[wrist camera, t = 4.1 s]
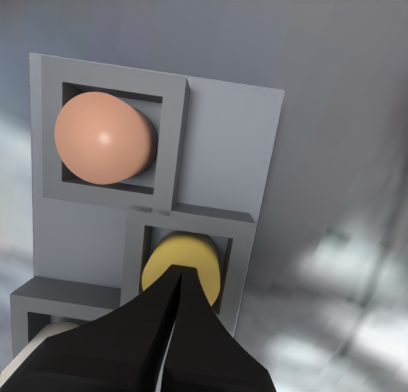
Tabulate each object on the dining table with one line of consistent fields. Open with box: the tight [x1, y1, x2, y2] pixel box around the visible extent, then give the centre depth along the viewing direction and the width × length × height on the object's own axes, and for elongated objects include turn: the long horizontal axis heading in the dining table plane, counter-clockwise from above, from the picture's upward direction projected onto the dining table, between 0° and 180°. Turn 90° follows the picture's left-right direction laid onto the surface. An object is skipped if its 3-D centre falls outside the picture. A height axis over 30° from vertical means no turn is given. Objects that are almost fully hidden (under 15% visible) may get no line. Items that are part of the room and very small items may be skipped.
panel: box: [10, 52, 285, 392], centre depth 15 cm, size 14×22×5 cm, turn 172°
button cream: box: [0, 321, 80, 387], centre depth 12 cm, size 4×4×2 cm
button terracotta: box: [54, 92, 157, 184], centre depth 11 cm, size 4×4×2 cm
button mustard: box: [142, 230, 220, 306], centre depth 12 cm, size 4×4×2 cm
